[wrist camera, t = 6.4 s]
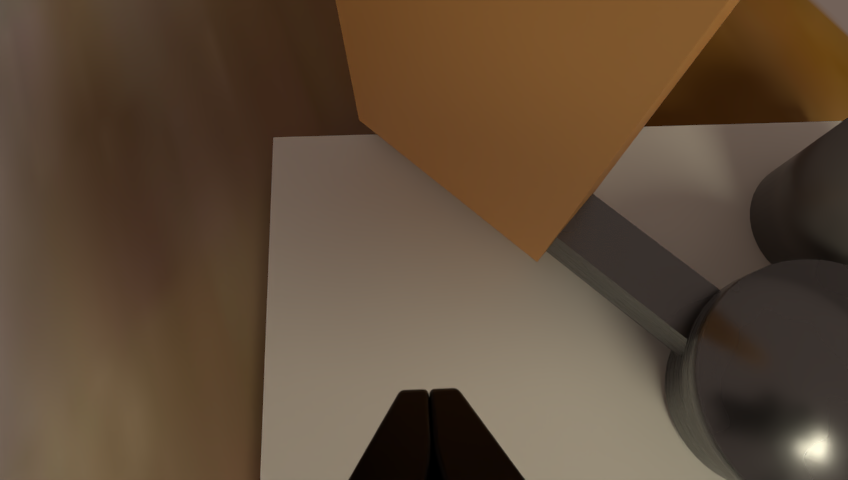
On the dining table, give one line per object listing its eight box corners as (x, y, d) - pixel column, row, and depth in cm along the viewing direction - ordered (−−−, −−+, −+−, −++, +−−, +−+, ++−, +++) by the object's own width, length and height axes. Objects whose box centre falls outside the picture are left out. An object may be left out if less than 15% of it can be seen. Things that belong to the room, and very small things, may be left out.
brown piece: (904, 380, 15) (1886, 294, 5) (794, 561, 14) (1785, 925, 4) (445, 40, 18) (479, -463, 8) (320, 167, 16) (167, -229, 6)
